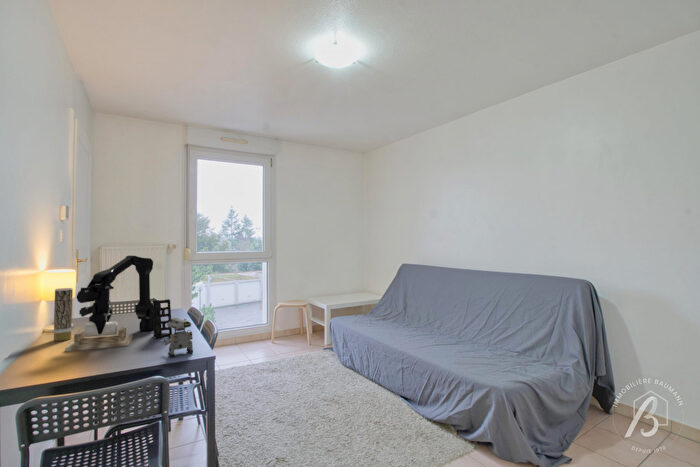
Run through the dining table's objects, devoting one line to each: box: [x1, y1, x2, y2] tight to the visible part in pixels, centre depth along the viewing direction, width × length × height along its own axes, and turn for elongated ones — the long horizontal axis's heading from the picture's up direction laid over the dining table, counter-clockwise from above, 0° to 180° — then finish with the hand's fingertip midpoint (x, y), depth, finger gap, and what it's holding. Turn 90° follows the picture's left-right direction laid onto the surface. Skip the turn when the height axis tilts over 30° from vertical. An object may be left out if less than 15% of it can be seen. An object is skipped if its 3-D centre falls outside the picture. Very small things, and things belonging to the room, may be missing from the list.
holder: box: [152, 297, 173, 339], centre depth 181 cm, size 11×8×20 cm
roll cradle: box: [64, 326, 134, 352], centre depth 168 cm, size 24×14×6 cm, turn 114°
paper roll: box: [83, 321, 118, 338], centre depth 168 cm, size 12×6×6 cm, turn 114°
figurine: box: [163, 317, 194, 358], centre depth 156 cm, size 9×12×15 cm
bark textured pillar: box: [53, 287, 73, 342], centre depth 175 cm, size 7×7×25 cm
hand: (101, 332), depth 168 cm, fingers closed on paper roll, 6 cm apart
